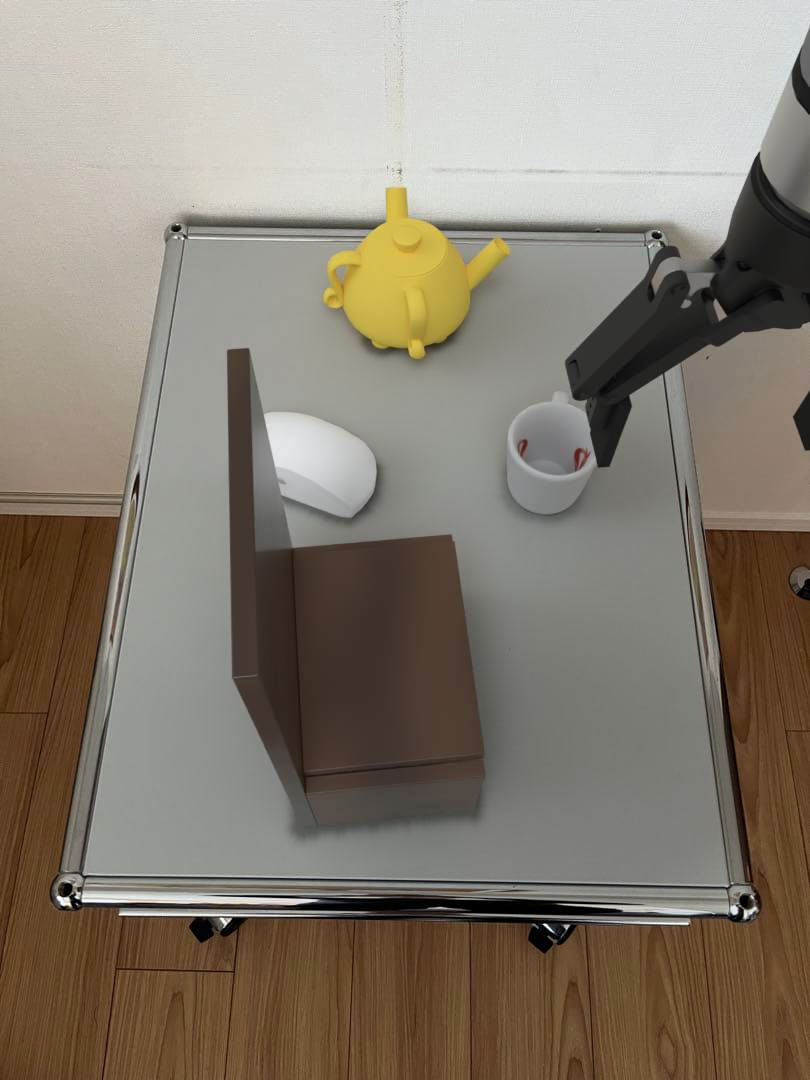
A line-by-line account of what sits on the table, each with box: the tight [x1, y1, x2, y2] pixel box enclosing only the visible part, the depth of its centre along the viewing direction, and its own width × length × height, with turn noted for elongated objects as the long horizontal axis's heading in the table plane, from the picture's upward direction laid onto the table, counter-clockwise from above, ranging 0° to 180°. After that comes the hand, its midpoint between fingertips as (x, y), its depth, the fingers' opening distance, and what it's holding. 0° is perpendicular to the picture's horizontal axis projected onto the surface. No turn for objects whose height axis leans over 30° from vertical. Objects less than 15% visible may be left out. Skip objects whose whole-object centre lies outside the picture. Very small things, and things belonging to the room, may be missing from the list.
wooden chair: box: [226, 347, 486, 829], centre depth 61 cm, size 13×18×34 cm
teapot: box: [322, 186, 511, 360], centre depth 90 cm, size 14×14×11 cm
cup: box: [506, 390, 597, 515], centre depth 82 cm, size 11×8×8 cm
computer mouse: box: [263, 411, 378, 519], centre depth 83 cm, size 6×13×6 cm, turn 67°
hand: (702, 441), depth 61 cm, fingers open, 13 cm apart
